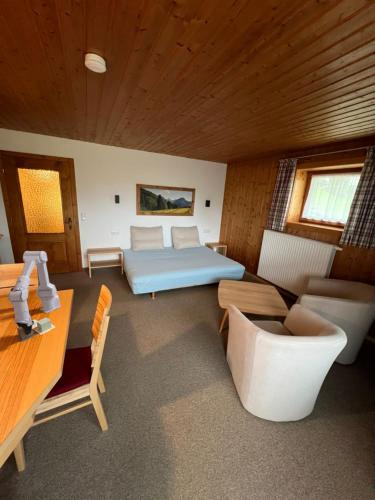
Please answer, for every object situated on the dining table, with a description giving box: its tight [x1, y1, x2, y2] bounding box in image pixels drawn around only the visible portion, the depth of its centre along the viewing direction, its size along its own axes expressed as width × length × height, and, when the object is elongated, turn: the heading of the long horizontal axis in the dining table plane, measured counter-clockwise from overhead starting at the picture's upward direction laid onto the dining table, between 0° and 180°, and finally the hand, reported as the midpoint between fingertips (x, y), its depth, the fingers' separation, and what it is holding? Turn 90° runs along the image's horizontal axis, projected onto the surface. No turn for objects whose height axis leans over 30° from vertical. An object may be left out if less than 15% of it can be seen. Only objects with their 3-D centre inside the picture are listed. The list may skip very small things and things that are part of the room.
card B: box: [33, 323, 56, 335], centre depth 116 cm, size 8×8×1 cm
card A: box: [32, 319, 38, 330], centre depth 118 cm, size 8×8×1 cm
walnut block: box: [16, 327, 34, 339], centre depth 109 cm, size 5×5×5 cm
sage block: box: [36, 317, 52, 332], centre depth 116 cm, size 5×5×5 cm
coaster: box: [16, 331, 38, 343], centre depth 110 cm, size 7×7×1 cm
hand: (25, 331), depth 109 cm, fingers closed on walnut block, 5 cm apart
